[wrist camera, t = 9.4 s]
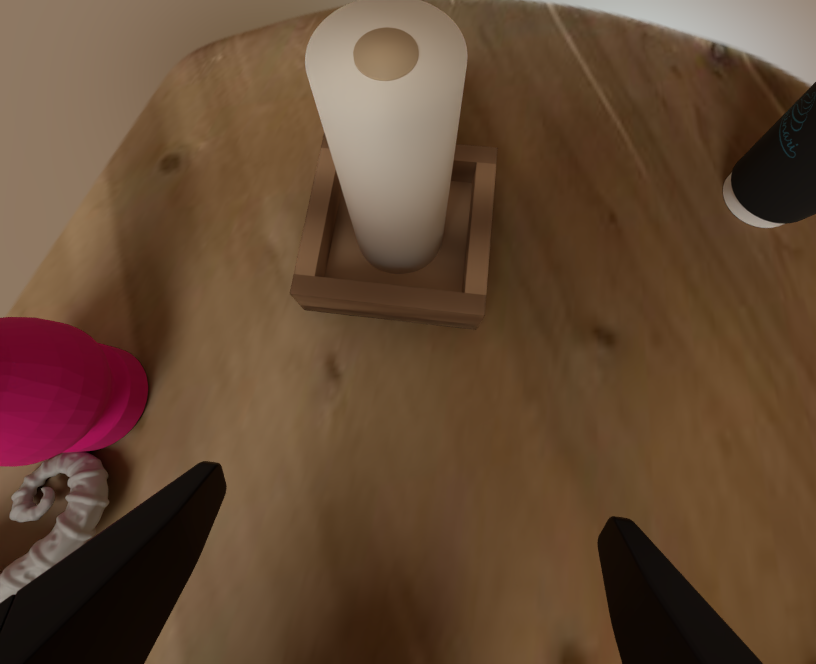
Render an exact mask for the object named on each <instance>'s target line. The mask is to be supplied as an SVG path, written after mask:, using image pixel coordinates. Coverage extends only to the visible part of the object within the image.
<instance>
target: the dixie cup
mask: <svg viewBox="0 0 816 664" xmlns="http://www.w3.org/2000/svg"><path fill="white" fill-rule="evenodd" d="M723 196H724V200H725V202H726V204H727V206H728V208H729V209H730V210H731V212H732V213H733V214H734V215H735V216H736V217H738V218H739V219H740V220H742V221H744V222H745V223H747V224H750V225H753V226H756V227H761V228H773V227H777V226H780V225H783V224H786V223H793V222H797V221H800V220H802V219H805V218H807V217H809V216H812V215H814V214H816V82H815V83H814V84H813V85H812V86H811V87H810V88H809V89H808V90H807V91H806V92H805V94H804V95H803V96H802V97H801V98H800V99H799V100H798V101H797V102H796V103H795V104H794V105H793V106H792V107H791V108H790V109H789V110H788V111H787V112H786V113H785V114H784V115H783V116H782V117H781V118H780V119H779V120H778V121H777V122H776V123H775V124H774V125H773V126H772V127H771V128H770V129H769V130H768V131H767V132H766V133H765V134H764V135H763V137H762V138H761V139H760V140H759V141H758V142H757V143H756V144H755V145H754V146H753V147H752V148H751V149H750V150H749V151H748V152H747V153H746V154H745V155H744V156H743V157H742V158H741V159H740V160H739V161H738V162H737V163H736V165H735V166H734V168H733V171H732V173H731V174H730V175H729V176H728V177H727V179H726V180H725V182H724V186H723Z"/></svg>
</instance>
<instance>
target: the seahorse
mask: <svg viewBox="0 0 816 664" xmlns="http://www.w3.org/2000/svg"><path fill="white" fill-rule="evenodd" d="M58 473H63V474H66V475H67V476H68V477H70V478H69V479H68V486H69V487H70V488H71V489H70V494H68V495H67V496H66V497H65V498H66V500H67V501H68V505H67V508H66V510H65V512H63V513H61V514H59V515H58V517H57V518H56V521H57V523H56V524H55V526H54V528H53V529H52V531H51V532H50V533H49V534H48V535H47V536H46V537H45V538H43V539H40V540H38V541H37V542H36V543H34V544H33V546H32V547H31V548H30V551H29V552H28V553H26V554H25V555H23V556H22V557H20V558H18V559H16V560H15V561H14V562H12V563H11V564H10V565H9V566H7V567H6V568H5V569H4V570H3V572H2V573H1V574H0V603H1V602H2V601H4V600H5V599H7V598H8V597H9V596H11V595H13V594H15V595H16V593H17V591H18V590H20V589H21V588H22V587H24V586H25V585H27V584H28V583H29V582H31V581H32V580H34V579H35V578H37V577H38V576H39V575H41V574H42V573H44V572H45V571H46V570H48V569H49V568H51V567H52V566H54V565H55V564H56V563H58V562H59V561H61V560H62V559H64V558H65V557H66V556H68V555H69V554H71V553H72V552H73V551H75V550H76V549H78V548H79V547H81V546H82V545H83V544H85V543H86V542H87V540H88V539H90V538H92V537H93V536H94V535H95V533H96V530H95V526H96V525H97V524H98V522H99V521H100V518H101V516H102V513H103V511H104V509H105V507H106V506H108V504H109V500H108V485H107V479H108V473H107V472H106V470H105V469H104V468H103V466H102V463H101V460H99V459H98V458H96V457H95V456H94V455H91V454H89V453H87V452H67V453H62V454H60V455H57V456H55V457H54V458H52V459H50V460H46V461H44V462H42V464H41V466H40V467H39V468H38V469H36V470H35V471H34V472H33V473H32V474H30V475H27V476H25V478H24V482H23V484H22V485H21V487H20V488H19V490H18V491H16V492H15V493H14V494H13V495H12V497H11V498H12V501H13V504H12V510H11V512H10V519H11V520H14V521H17V522H25V521H36V520H38V519H40V518H41V517H42V515H44V514H45V513H46V512H47V511H48V510H49V509H50V507H51V506H52V505H53V503H54V501H55V492H54V491H53V489H52V488H51V487H43V488H41V490H42V491H43V493H44V495H43V498H42V499H41V501H40V503H39V504H38V505H36V504H35V503H34V502H33V498H34V496H35V495H36V494H37V487H39V486H42V485H44V483H45V480H46V479H47V478H49V477H53V476H56V475H57V474H58Z"/></svg>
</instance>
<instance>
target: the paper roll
mask: <svg viewBox="0 0 816 664" xmlns="http://www.w3.org/2000/svg"><path fill="white" fill-rule="evenodd" d="M467 58H468V55H467V46H466V42H465V39H464V37H463V35H462V32H461V31H460V29H459V28H458V26H457V25H456V23H455V22H454V21H453V20H452V19H451V18H450V17H449V16H448V15H447V14H445V13H444V12H443V11H441V10H440V9H438V8H437V7H435V6H433V5H431V4H429V3H427V2H424V1H421V0H357V1H354V2H351V3H349V4H347V5H345V6H343V7H341V8H339V9H338V10H336V11H334V12H333V13H332V14H330V15H329V16H328V17H327V18H326V19H325V20H324V21H323V22H321V23H320V25H319V26H318V27H317V29H316V30H315V31H314V33H313V35H312V36H311V38H310V41H309V43H308V46H307V50H306V54H305V66H306V73H307V76H308V79H309V83H310V86H311V89H312V93H313V96H314V99H315V103H316V106H317V109H318V112H319V116H320V119H321V122H322V126H323V129H324V132H325V136H326V139H327V142H328V146H329V149H330V152H331V155H332V159H333V162H334V165H335V169H336V172H337V175H338V179H339V182H340V185H341V188H342V192H343V195H344V198H345V202H346V205H347V208H348V212H349V215H350V218H351V221H352V225H353V228H354V231H355V235H356V238H357V241H358V245H359V248H360V250H361V252H362V254H363V256H364V257H365V259H366V260H367V261H368V262H369V263H370V264H371V265H373V266H374V267H376V268H377V269H379V270H381V271H384V272H387V273H392V274H407V273H412V272H415V271H417V270H420V269H422V268H423V267H425V266H426V265H428V264H429V263H430V262H431V261H432V260H433V259H434V258H435V257H436V255H437V254H438V252H439V250H440V247H441V244H442V240H443V233H444V225H445V218H446V211H447V204H448V197H449V190H450V182H451V175H452V168H453V161H454V154H455V146H456V139H457V132H458V125H459V118H460V111H461V103H462V96H463V89H464V82H465V75H466V68H467Z"/></svg>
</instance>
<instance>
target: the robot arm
mask: <svg viewBox="0 0 816 664" xmlns="http://www.w3.org/2000/svg"><path fill="white" fill-rule="evenodd" d="M225 493H226V481H225V478H224V474H223V470H222V466H221V465H220V464H219V463H216V462H208V461H203V462H200V463H198V464H197V465H195V466H194V467H193V468H191V469H190V470H188V471H187V472H186V473H184V474H183V475H181V476H180V477H178V478H177V479H176V480H174V481H173V482H171V483H170V484H168V485H167V486H166V487H164V488H163V489H161V490H160V491H159V492H157V493H156V494H154V495H153V496H151V497H150V498H149V499H147V500H146V501H144V502H143V503H142V504H140V505H139V506H137V507H136V508H134V509H133V510H132V511H130V512H129V513H127V514H126V515H125V516H123V517H122V518H120V519H119V520H117V521H116V522H115V523H113V524H112V525H110V526H109V527H107V528H106V529H105V530H103V531H102V532H100V533H99V534H98V535H96V536H95V537H93V538H92V539H90V540H89V541H88V542H86V543H85V544H83V545H82V546H81V547H79V548H78V549H76V550H75V551H73V552H72V553H71V554H69V555H68V556H66V557H65V558H64V559H62V560H61V561H59V562H58V563H56V564H55V565H54V566H52V567H51V568H49V569H48V570H46V571H45V572H44V573H42V574H41V575H39V576H38V577H37V578H35V579H34V580H32V581H31V582H29V583H28V584H27V585H25V586H24V587H22V588H21V589H20V590H18V591H17V593H16V595H15V594H13V595H11V596H9V597H8V598H7V599H5V600H4V601H2V602H1V603H0V664H144V663H145V661H146V659H147V657H148V655H149V653H150V651H151V649H152V648H153V646H154V644H155V642H156V640H157V638H158V636H159V634H160V632H161V630H162V629H163V627H164V625H165V623H166V621H167V619H168V617H169V615H170V613H171V611H172V610H173V608H174V606H175V604H176V602H177V600H178V598H179V596H180V594H181V593H182V591H183V589H184V587H185V585H186V583H187V581H188V579H189V577H190V575H191V574H192V572H193V570H194V568H195V566H196V564H197V561H198V559H199V557H200V555H201V552H202V550H203V548H204V545H205V543H206V540H207V538H208V535H209V533H210V531H211V528H212V526H213V523H214V521H215V518H216V516H217V513H218V511H219V509H220V506H221V504H222V501H223V499H224V496H225ZM598 552H599V557H600V563H601V569H602V574H603V580H604V586H605V591H606V597H607V603H608V608H609V613H610V618H611V623H612V627H613V631H614V635H615V639H616V642H617V646H618V650H619V653H620V657H621V660H622V664H763V663H762V662H761V661H760V660H759V659H758V658H757V656H756V655H755V654H754V653H753V652H752V651H751V650H750V649H749V648H748V647H747V645H746V644H745V643H744V642H743V641H742V640H741V639H740V638H739V637H738V636H737V635H736V633H735V632H734V631H733V630H732V629H731V628H730V627H729V626H728V625H727V624H726V622H725V621H724V620H723V619H722V618H721V617H720V616H719V615H718V614H717V613H716V611H715V610H714V609H713V608H712V607H711V606H710V605H709V604H708V603H707V602H706V601H705V599H704V598H703V597H702V596H701V595H700V594H699V593H698V592H697V591H696V590H695V588H694V587H693V586H692V585H691V584H690V583H689V582H688V581H687V580H686V579H685V577H684V576H683V575H682V574H681V573H680V572H679V571H678V570H677V569H676V568H675V567H674V565H673V564H672V563H671V562H670V561H669V560H668V559H667V558H666V557H665V556H664V554H663V553H662V552H661V551H660V550H659V549H658V548H657V547H656V546H655V545H654V543H653V542H652V541H651V540H650V539H649V538H648V537H647V536H646V535H645V534H644V533H643V531H642V530H641V529H640V528H639V527H638V526H637V525H636V524H635V523H634V522H633V521H632V520H630V519H628V518H622V517H615V516H612V517H610V518H609V519H608V521H607V522H606V524H605V526H604V528H603V530H602V531H601V533H600V535H599V537H598Z"/></svg>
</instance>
